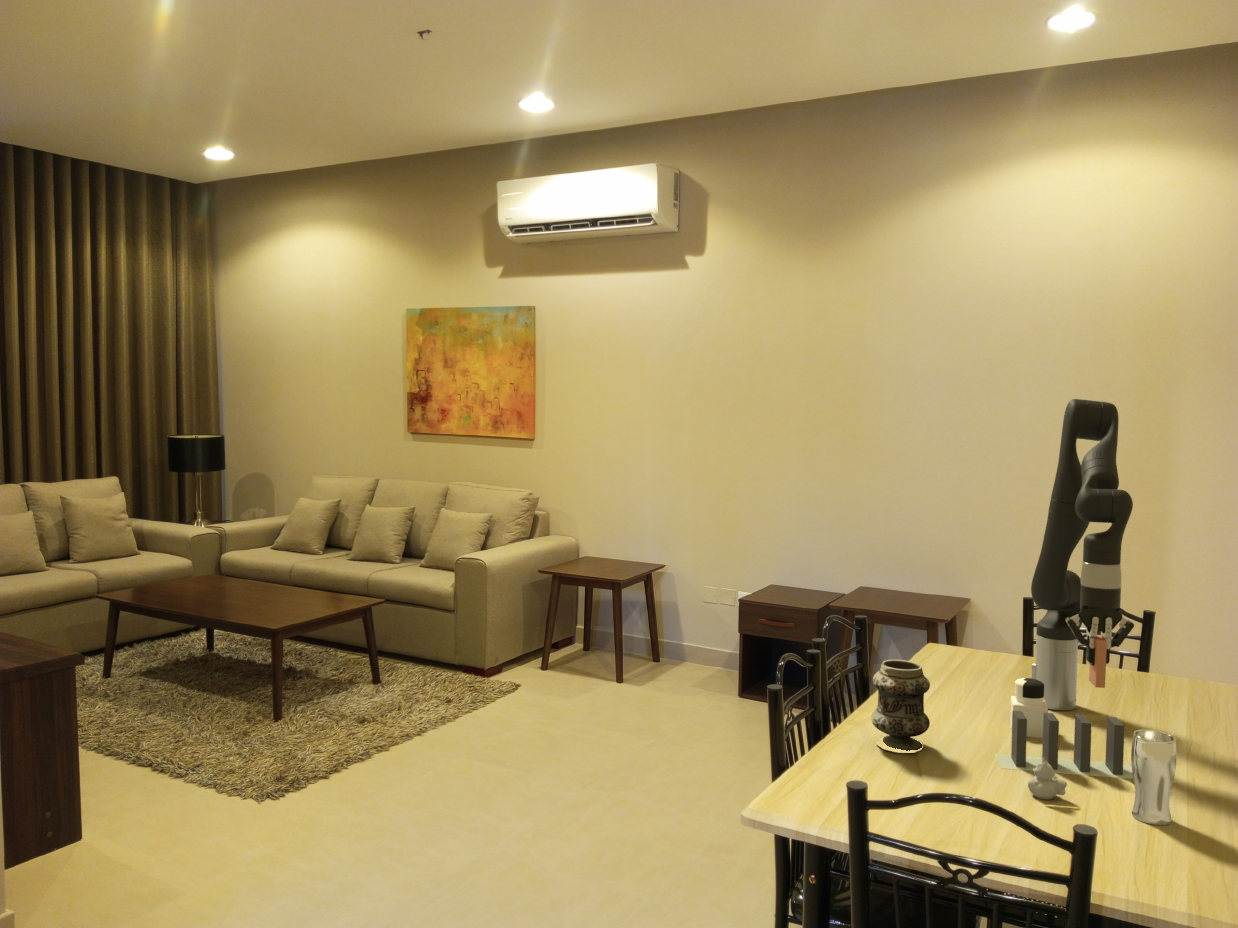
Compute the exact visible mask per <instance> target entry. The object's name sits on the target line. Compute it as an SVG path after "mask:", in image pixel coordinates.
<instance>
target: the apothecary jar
mask: <svg viewBox="0 0 1238 928" xmlns="http://www.w3.org/2000/svg"><path fill="white" fill-rule="evenodd" d="M880 665H881V666H880V669H879V670H878V671H877V672H876V673H874V675H873V677H872V683H873V684H872V685H873V686H874V688H876V689H877V690H878V692H877V697H878V698H877V708H875V709H874V710H873V712H872V713H871V715H870V716H871V719H870V720H871V723H872V725H873V726H874V727H875V729H877V730H878V731H880V732H882V733H884V734H886V736H883V737H884V738H883V742H884V743H885V744H886V745H887V746H889V747H892V748H895V749H896V748H897V749H901V750H906V751H908V750H909V751H910V750H918V749H920V748H922V744H923V743H922V742H921V741H919V740H918V741H917V739H916V738H914V737H919V736H921V735H923V734H924V733H926V732H927V731H928V729H930V724H931V723H930V719H929V718H930V717H928V715H927V714H926V713H925V705H924V704H925V702H924V700H925V699H924V698H925V694H926V693H927V692H928V691H929V689H930V688H931V687H930V686H931V682H930V680H929V678H928V677H927V676H926V675H925V674H924V671H923V667H922V665H921V664H919V663H917V662H915V661H911V660H904V659H886V660H883V661H882V662H881V664H880ZM915 739H916V740H915ZM920 742H921V743H922V744H921V743H920Z"/></svg>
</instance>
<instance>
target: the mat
mask: <svg viewBox="0 0 1238 928" xmlns="http://www.w3.org/2000/svg"><path fill="white" fill-rule="evenodd" d="M993 756H995V759H996V760H997V763H998V764H999V767H1000V769H1003V770H1014V771H1027V772H1028V771H1029V772H1034V771H1033V769H1034V768H1036V767H1037V765H1038V763H1039V762H1041V761H1042V756H1041V757H1040V756H1039V757H1038V756H1029V755H1026V768H1025V767H1016V766H1015V764H1014V762H1013V760H1012V758H1011V754H1000V753H994V754H993ZM1054 773H1055V774H1065V775H1066V774H1067V775H1079V776H1091V777H1092V776H1093V777H1103V778H1104V777H1105V778H1114V779H1115V778H1116V779H1127V780H1128V779H1129V780H1130V779H1132V780H1133V773H1132V765H1131V763H1123V775H1115V774H1112V773H1111V771H1110V770H1109V769H1108V767H1107V766H1106V765H1105V761H1093V760H1090V773H1089V772H1080V771H1079V769H1078V768H1077V766H1076V765H1075V764H1074V759H1069V758H1068V759H1067V758H1058V770H1054ZM1173 783H1177V781H1176V780H1175V779H1174V781H1173Z"/></svg>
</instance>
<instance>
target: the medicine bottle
mask: <svg viewBox="0 0 1238 928" xmlns="http://www.w3.org/2000/svg"><path fill="white" fill-rule="evenodd" d="M1013 711H1022V712H1023V714H1024V715H1025V717H1026V718H1027V737H1031V738H1038V739H1043V715H1044V713H1049V709H1048V707H1047V705H1046V702H1045V699H1044V684H1043V683H1042V682H1041V681H1039V680H1036V679H1032V677H1030V678H1029V677H1021V678H1018V679H1016V680H1015V681H1014V695H1011V697H1010V714H1009V715H1010V718H1009V719H1010V721H1009V725H1010V730H1011V732H1012V712H1013Z"/></svg>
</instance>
